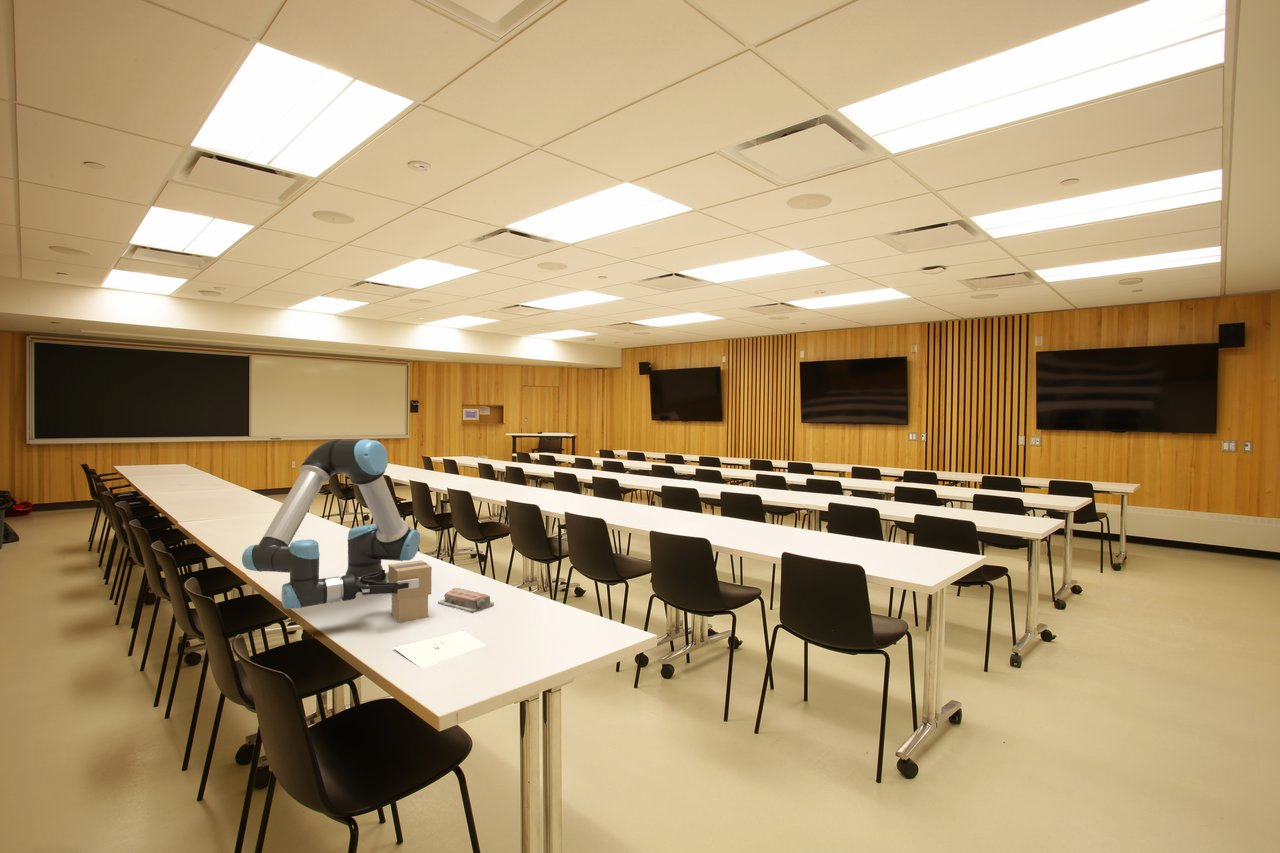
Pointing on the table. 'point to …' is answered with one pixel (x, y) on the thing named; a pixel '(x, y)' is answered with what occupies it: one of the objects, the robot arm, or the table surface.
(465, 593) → the packaged product
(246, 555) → the robot arm
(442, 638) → the paper sheet
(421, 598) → the tan tall box
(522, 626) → the table surface
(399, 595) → the brown cardboard block
